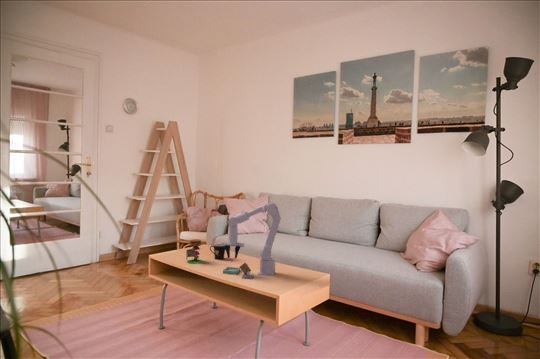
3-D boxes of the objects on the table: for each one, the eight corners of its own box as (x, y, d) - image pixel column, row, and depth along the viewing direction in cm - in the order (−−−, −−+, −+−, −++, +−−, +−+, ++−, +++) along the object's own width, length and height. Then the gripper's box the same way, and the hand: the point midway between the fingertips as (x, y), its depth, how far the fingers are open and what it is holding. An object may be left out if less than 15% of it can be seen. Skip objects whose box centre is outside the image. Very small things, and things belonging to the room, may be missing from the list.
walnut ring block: (251, 270, 216) (246, 264, 219) (249, 269, 213) (245, 262, 215) (245, 275, 216) (241, 268, 218) (243, 273, 212) (239, 266, 214)
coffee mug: (227, 259, 257) (228, 245, 257) (217, 261, 251) (217, 246, 251) (218, 256, 266) (219, 242, 265) (208, 257, 260) (209, 244, 260)
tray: (240, 270, 228) (240, 267, 228) (236, 274, 220) (236, 271, 220) (227, 269, 230) (227, 266, 230) (222, 273, 221) (222, 270, 221)
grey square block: (253, 276, 216) (254, 269, 216) (251, 279, 211) (251, 272, 210) (244, 275, 217) (244, 268, 217) (241, 278, 212) (241, 271, 212)
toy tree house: (205, 260, 253) (206, 238, 253) (200, 264, 240) (201, 242, 240) (189, 259, 254) (190, 238, 254) (183, 263, 242) (184, 241, 241)
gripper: (245, 235, 227) (245, 257, 227) (223, 234, 229) (223, 255, 229) (242, 237, 220) (242, 259, 220) (220, 236, 222) (219, 258, 222)
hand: (232, 257), depth 224 cm, fingers open, 4 cm apart
